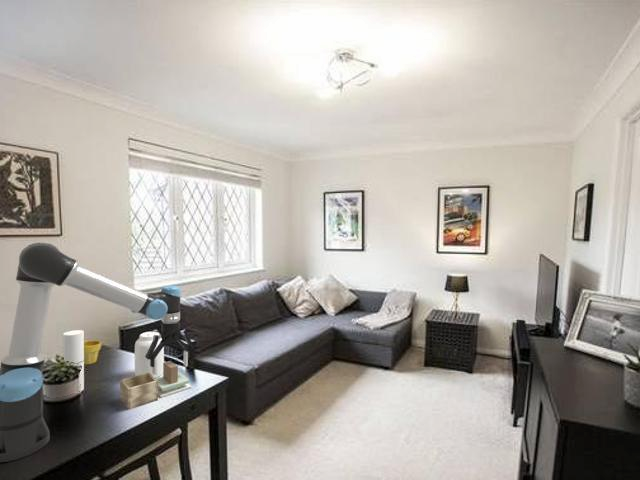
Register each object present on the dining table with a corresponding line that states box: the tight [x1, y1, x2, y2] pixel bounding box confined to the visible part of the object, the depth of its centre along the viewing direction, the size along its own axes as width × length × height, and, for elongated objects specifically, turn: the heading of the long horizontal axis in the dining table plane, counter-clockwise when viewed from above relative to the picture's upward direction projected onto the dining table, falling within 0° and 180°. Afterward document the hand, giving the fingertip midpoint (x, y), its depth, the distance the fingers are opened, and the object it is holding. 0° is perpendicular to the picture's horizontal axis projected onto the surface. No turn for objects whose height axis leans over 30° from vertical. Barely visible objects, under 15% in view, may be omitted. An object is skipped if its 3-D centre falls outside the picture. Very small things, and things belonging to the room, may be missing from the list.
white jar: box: [134, 331, 165, 379], centre depth 165 cm, size 12×12×20 cm
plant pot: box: [84, 339, 102, 365], centre depth 179 cm, size 10×10×10 cm
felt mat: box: [158, 383, 192, 399], centre depth 153 cm, size 13×13×1 cm
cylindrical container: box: [62, 329, 85, 393], centre depth 148 cm, size 7×7×25 cm
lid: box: [155, 360, 190, 393], centre depth 153 cm, size 12×12×10 cm
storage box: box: [119, 373, 159, 410], centre depth 142 cm, size 11×11×8 cm
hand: (170, 369), depth 152 cm, fingers open, 13 cm apart
